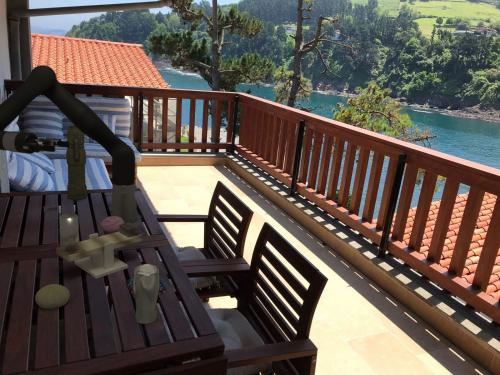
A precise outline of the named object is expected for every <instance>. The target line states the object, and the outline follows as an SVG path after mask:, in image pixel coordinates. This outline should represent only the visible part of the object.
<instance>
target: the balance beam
mask: <svg viewBox="0 0 500 375" xmlns="http://www.w3.org/2000/svg"><path fill="white" fill-rule="evenodd" d="M142 241H143V236H142V235H141V234H140V227H139V226H138V225H135V224H134V223H130V222H128V223H124V224H120V225H119V232H115V233H111V234H108V235H104V234H103V235H101V236H98V237H96V238H92V239H89V238H88V239H85V240H81V241H79V250H77V251H75V252H70V253H67V252H62V251H61V246H58V247H56V248H55V251H56V254H57V256H59V257H60V258H62V259H63V260H65V261H66V262H68V263H70V262H73V261H74V262H75V261H76V260H80V259H83V258H86V257H89V256H92V255H95V254H98V253H102V252H104V244H106V243H110V242H113V243H114V250H115V249H118V248H122V247H126V246H129V245H133V244H136V243H139V242H142Z"/></svg>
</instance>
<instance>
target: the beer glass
mask: <svg viewBox="0 0 500 375" xmlns="http://www.w3.org/2000/svg"><path fill="white" fill-rule="evenodd" d="M133 270H134V272H133V278H134V280H133V289H134V295H135V298H134V300H135V308H136V310H135V312H134V313H135V314H134V321H136V323H138V324H141V325H142V324H143V325H149V324H152V323H155V321H156V320H157V317H158V314H157V300H158V297H159V296H158V295H159V293H158V292H159V279H160V269H159V267H158V266H157V265H154V264H148V263H145V264H140V265H138V266H136V267H135V268H134V269H133Z"/></svg>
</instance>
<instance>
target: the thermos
mask: <svg viewBox="0 0 500 375" xmlns="http://www.w3.org/2000/svg"><path fill="white" fill-rule="evenodd" d="M66 141H68V142H69V147H68V148H66V152H65V157H66V159H65V160H66V161H65V162H66V164H67V184H66V185H67V186H66V191H67V192H66V193H67V199H68V200H69V201H74V202H75V201H83V200H87V193H88V186H87V184H86V183H87V182H86V163H87V152H86V148H85V134H84V133H82V132H81V131H80V130H79V129H78V128H77V127H76V126H75V125H71V126H69V127H68V128H67V131H66Z"/></svg>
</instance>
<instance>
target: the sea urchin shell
mask: <svg viewBox="0 0 500 375" xmlns="http://www.w3.org/2000/svg"><path fill="white" fill-rule="evenodd" d="M70 296H71V294H70V290H69V289H68V287H66V286H65V285H61V284H58V283H57V284H56V283H52V284H51V283H50V284H48V285H45V286H43V287H41V289H39V290H38V291H37V292H36V294H35V297H34V298H35V299H34V300H35V303H36V304H37V305H38V306H39V307H40V308H42V309H45V310H47V309H48V310H49V309H50V310H52V309H58V308H60V307H63V306H65V305H66V303H68V301H69V300H70Z"/></svg>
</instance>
